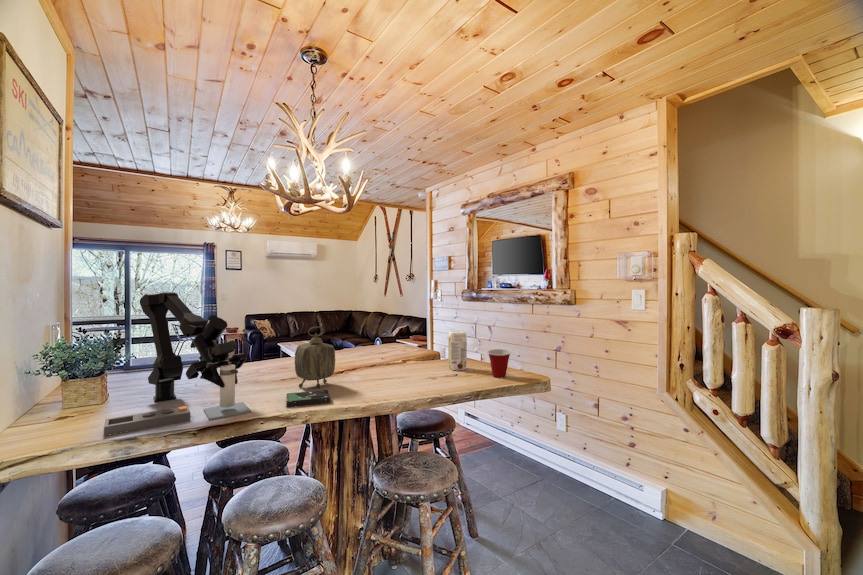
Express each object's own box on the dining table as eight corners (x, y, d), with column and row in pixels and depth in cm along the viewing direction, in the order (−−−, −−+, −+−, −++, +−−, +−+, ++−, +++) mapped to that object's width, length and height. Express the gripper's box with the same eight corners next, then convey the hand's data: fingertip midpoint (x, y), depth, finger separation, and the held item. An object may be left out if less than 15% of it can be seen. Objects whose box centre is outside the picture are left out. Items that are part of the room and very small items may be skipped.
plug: (216, 406, 121) (216, 366, 121) (228, 402, 126) (229, 364, 126) (230, 409, 119) (231, 368, 119) (242, 405, 123) (243, 366, 123)
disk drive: (327, 397, 142) (286, 400, 136) (327, 389, 142) (286, 392, 136) (330, 405, 132) (286, 409, 127) (330, 397, 132) (286, 400, 127)
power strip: (105, 427, 108) (105, 416, 108) (187, 413, 121) (187, 403, 121) (103, 436, 102) (104, 424, 102) (190, 420, 114) (190, 409, 114)
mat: (203, 410, 123) (203, 408, 123) (242, 403, 131) (242, 401, 131) (209, 420, 114) (209, 418, 114) (251, 412, 122) (251, 410, 122)
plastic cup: (483, 377, 172) (483, 351, 172) (492, 373, 181) (492, 348, 181) (505, 380, 166) (506, 353, 166) (514, 375, 175) (514, 350, 175)
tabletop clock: (326, 381, 162) (327, 324, 162) (337, 385, 156) (337, 326, 156) (294, 387, 152) (294, 326, 152) (303, 392, 146) (304, 328, 146)
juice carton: (467, 370, 187) (468, 332, 187) (451, 371, 184) (451, 333, 184) (462, 367, 194) (462, 330, 194) (446, 368, 192) (447, 331, 192)
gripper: (191, 336, 116) (215, 375, 111) (244, 330, 133) (266, 364, 128) (175, 359, 119) (197, 398, 114) (228, 350, 136) (249, 384, 131)
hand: (230, 385), depth 122 cm, fingers closed on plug, 4 cm apart
